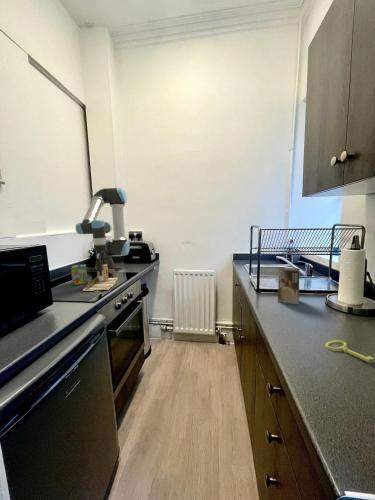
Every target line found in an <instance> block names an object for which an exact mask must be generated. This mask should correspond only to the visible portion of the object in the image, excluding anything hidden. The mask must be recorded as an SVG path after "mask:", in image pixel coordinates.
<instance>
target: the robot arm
mask: <svg viewBox="0 0 375 500" xmlns="http://www.w3.org/2000/svg"><path fill="white" fill-rule="evenodd" d="M127 197H128V196H127V193H126V191H125V189H124V188H122V187H112V188H109V187H108V188H105V187H104V188H101V189H100V190H98V191H96V192H95V193H94V194H93V196H92V197H91V198H90V199H91V203H90V205H89V207H88V209H87V211H86V213H85V215H84V218H83V219H82V221H81V222H78V223H76V224H75V232H76V233H77V234H79V235H92V242H93V250H94V252H95V254H96V255H95V260H96V261H95V267H94V268H95V271H96V272H97V271H99V281H104V274H103V264H107V268H108V270H111V269H114V270H115V269H116V268H115V267H116V266H115V262H114V260H113V257H118V256H120V257H122V256H127V255H129V252H130V248H131V247H130V246H131V245H130V244H131V243H130V241H128V239H127V237H126V234H125V233H126V232H125V218H124V207H125V206H126V203H127V202H128V198H127ZM106 204H109V206H110V207H111V213H112V215H111V216H112V224H111V223H110V222H107V221H104V220H103V219H97V218H98V216H99V213H100V212H101V209H102V207H103V206H104V205H106ZM112 231H113V238H112V239H107V238H106V234H109V233H111V232H112Z"/></svg>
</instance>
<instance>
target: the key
mask: <svg viewBox="0 0 375 500" xmlns="http://www.w3.org/2000/svg"><path fill="white" fill-rule="evenodd" d="M332 343H333V344H341V346H339V347H332V346H330V345H332ZM324 347H325V348H326V349H327V350H328V351H331V350H332V352H335V351H339V352H345V354H349V355H351V356H352V357H355V358H357V359H359V360H362V361H365V362H367V363H372V361H373V360H374V359H375V358H374V357H372V356H370V355H368V356H365V355H363V354H360V353H358V352H356V351H354V350H351V349H349V347H348V345H347V343H346V342H345V341H344V340H340V339H337V340H330V341H328V342H325V344H324Z"/></svg>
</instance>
